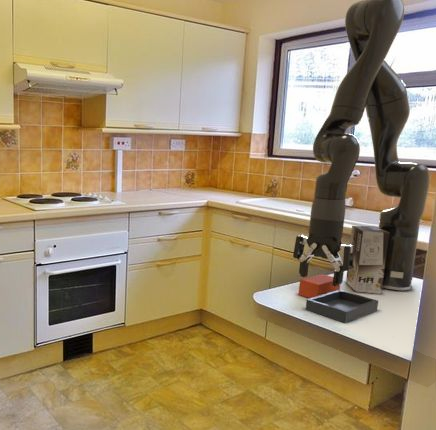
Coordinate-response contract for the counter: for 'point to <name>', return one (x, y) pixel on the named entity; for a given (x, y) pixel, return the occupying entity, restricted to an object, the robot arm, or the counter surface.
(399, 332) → the counter surface
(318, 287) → the orange-red rectangular block
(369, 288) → the coffee box
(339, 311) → the tray
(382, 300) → the counter surface
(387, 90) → the robot arm
